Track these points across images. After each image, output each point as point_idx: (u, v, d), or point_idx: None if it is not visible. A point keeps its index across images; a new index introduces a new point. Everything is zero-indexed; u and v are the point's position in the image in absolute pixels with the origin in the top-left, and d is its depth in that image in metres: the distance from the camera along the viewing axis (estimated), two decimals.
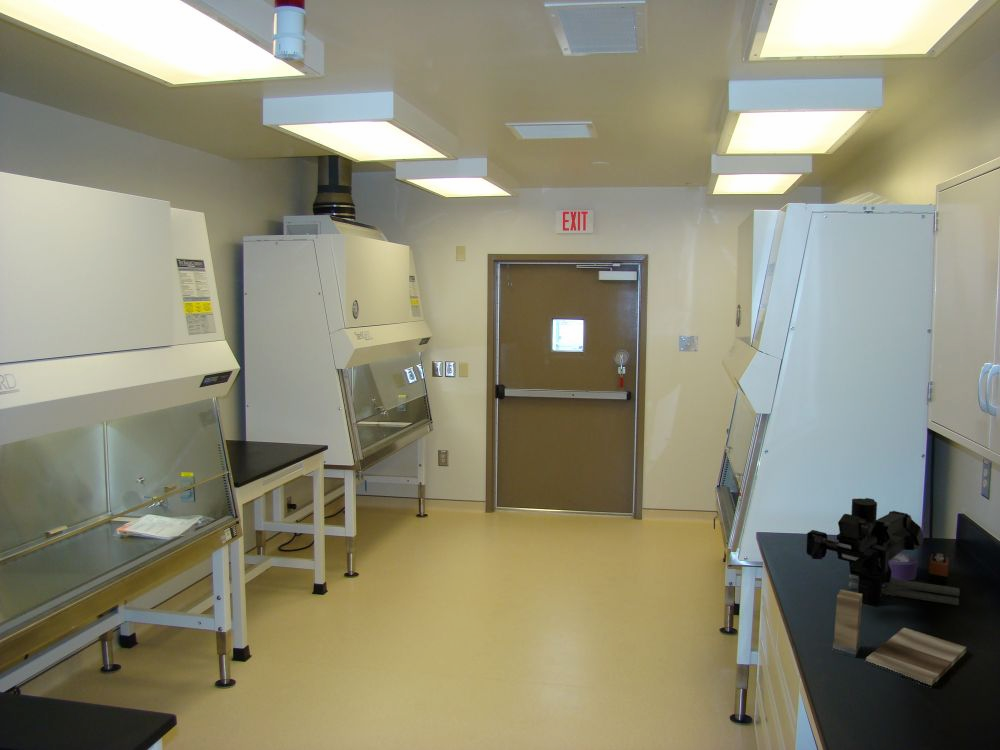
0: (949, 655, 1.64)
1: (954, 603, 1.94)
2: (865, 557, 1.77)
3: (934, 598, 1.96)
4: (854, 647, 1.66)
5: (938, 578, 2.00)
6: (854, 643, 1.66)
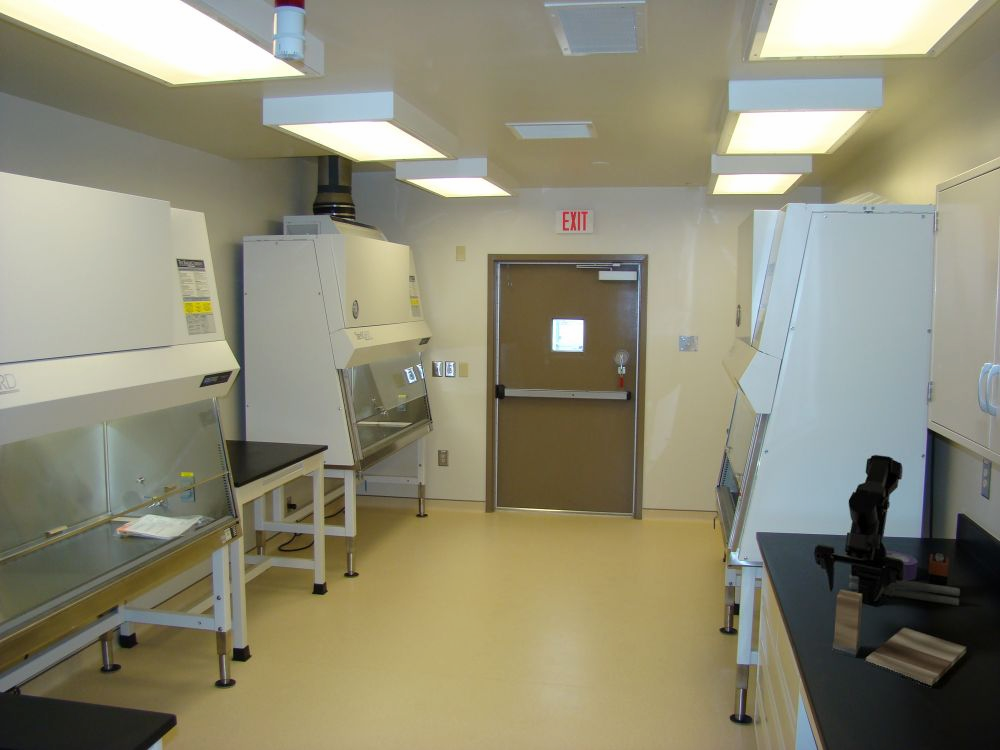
0: (949, 655, 1.64)
1: (954, 603, 1.94)
2: (883, 580, 1.70)
3: (935, 599, 1.96)
4: (854, 647, 1.66)
5: (938, 578, 2.00)
6: (854, 643, 1.66)
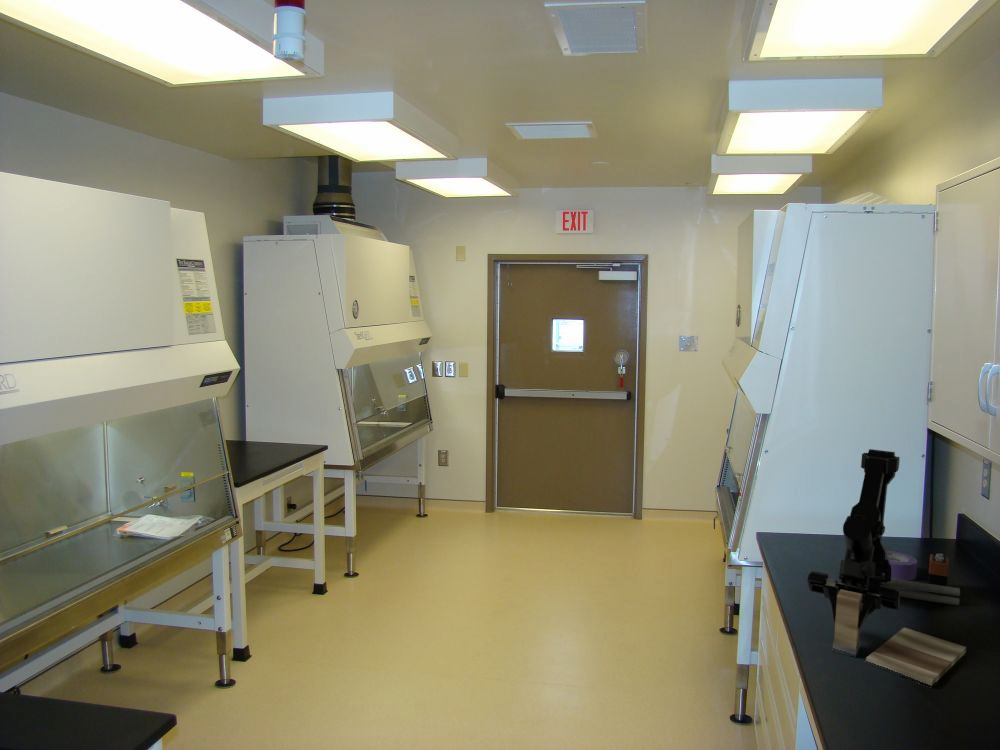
0: (949, 655, 1.64)
1: (954, 603, 1.94)
2: (867, 607, 1.67)
3: (935, 599, 1.96)
4: (854, 647, 1.66)
5: (938, 578, 2.00)
6: (854, 643, 1.66)
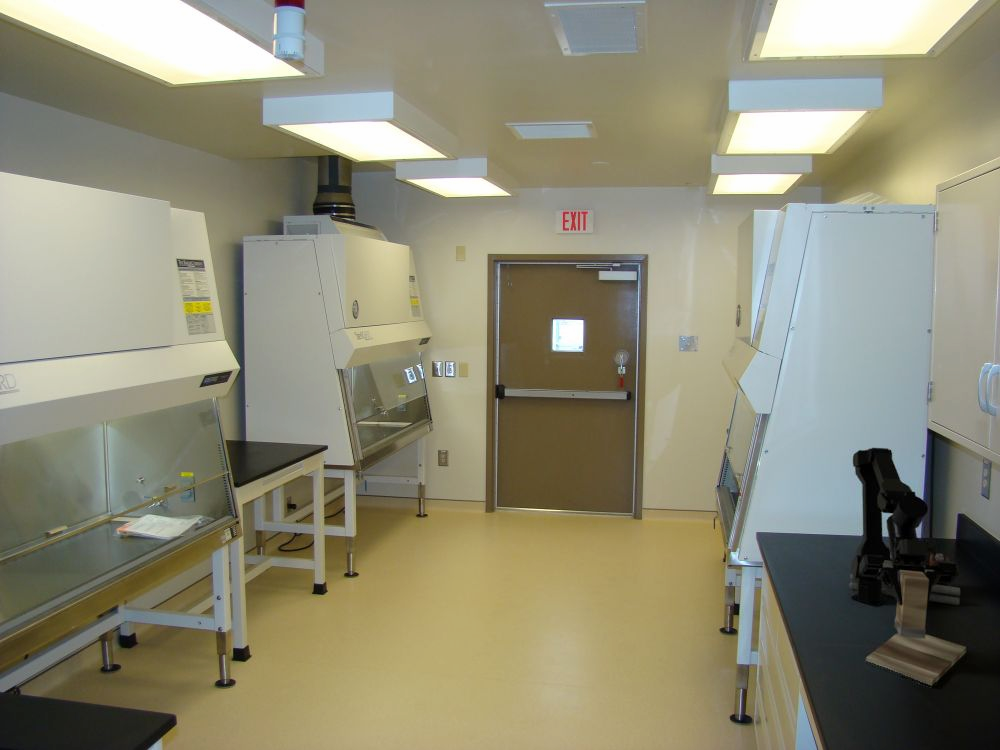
0: (949, 655, 1.64)
1: (955, 603, 1.94)
2: (931, 584, 1.62)
3: (935, 598, 1.96)
4: (923, 628, 1.60)
5: None
6: (923, 624, 1.60)
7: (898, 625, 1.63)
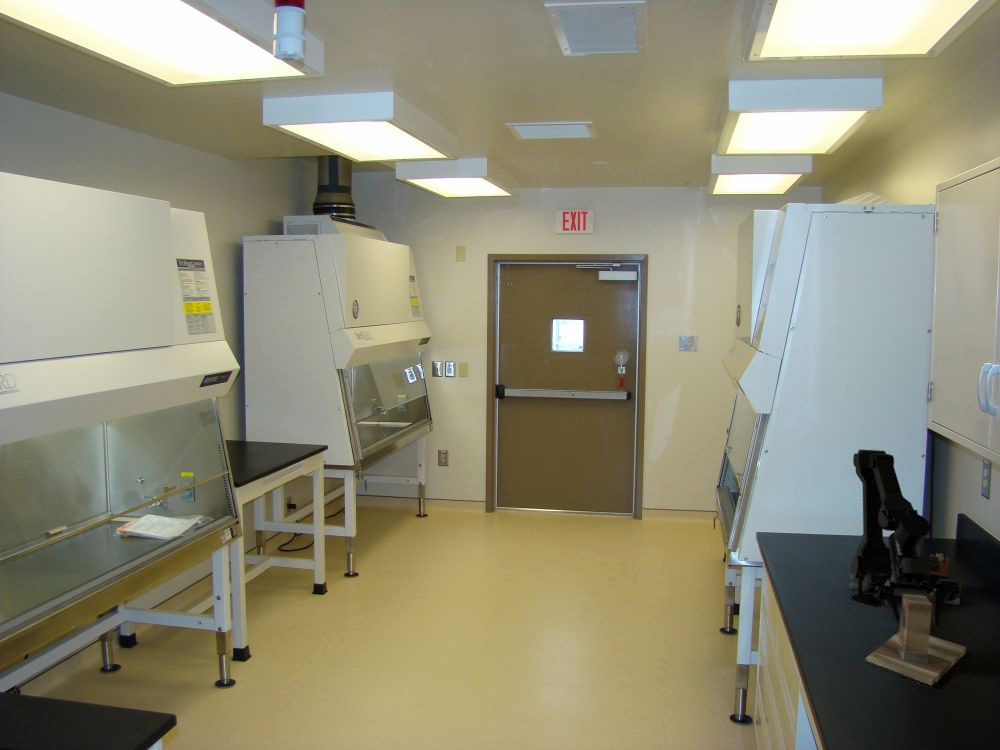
0: (949, 655, 1.64)
1: (955, 603, 1.94)
2: (940, 604, 1.62)
3: None
4: (926, 652, 1.61)
5: (938, 578, 2.00)
6: (926, 648, 1.61)
7: (901, 649, 1.63)
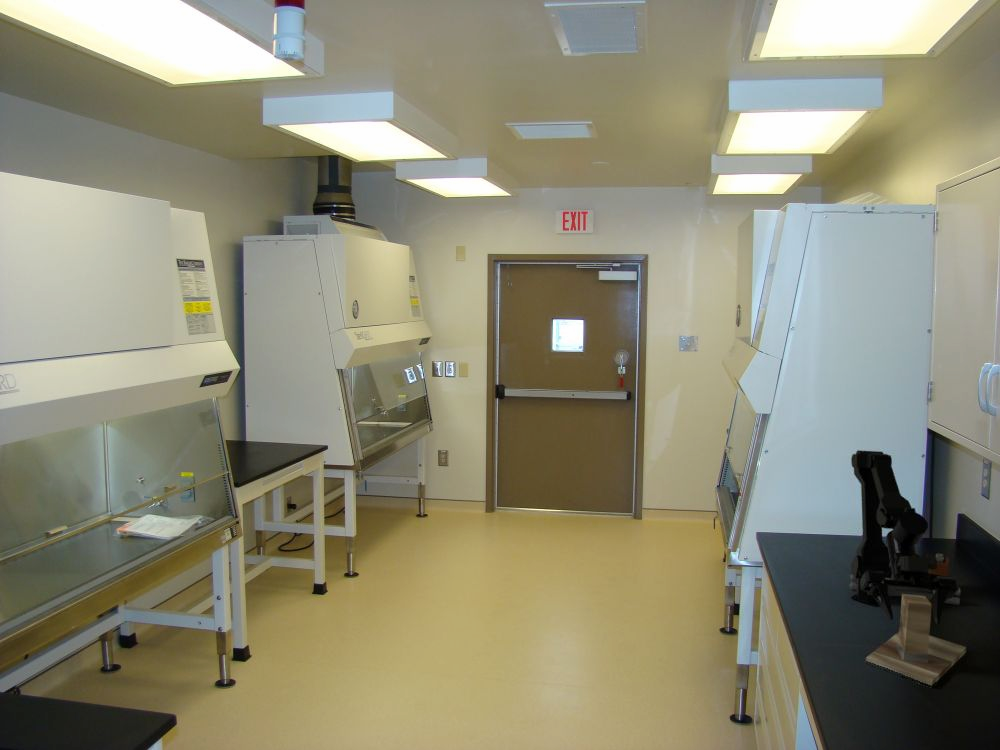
0: (949, 655, 1.64)
1: (955, 603, 1.94)
2: (942, 601, 1.63)
3: None
4: (926, 652, 1.61)
5: None
6: (926, 648, 1.61)
7: (901, 649, 1.63)
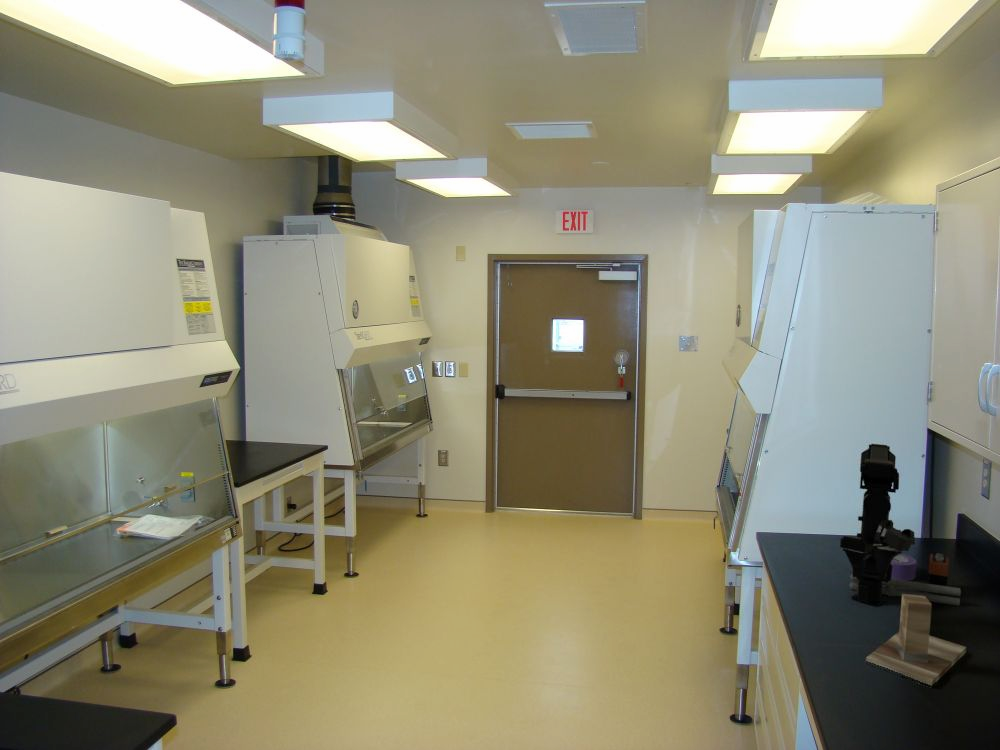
0: (949, 655, 1.64)
1: (955, 603, 1.94)
2: (891, 560, 1.83)
3: (935, 599, 1.96)
4: (926, 652, 1.61)
5: (938, 578, 2.00)
6: (926, 648, 1.61)
7: (901, 649, 1.63)
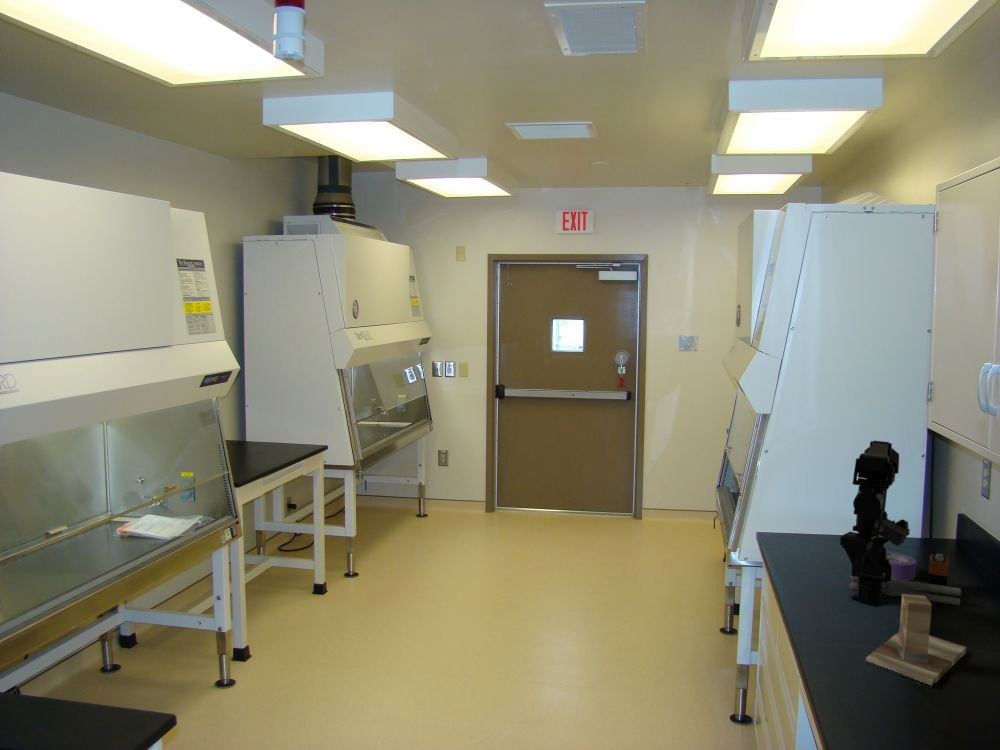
0: (949, 655, 1.64)
1: (955, 603, 1.94)
2: (882, 547, 1.86)
3: (936, 599, 1.96)
4: (926, 652, 1.61)
5: (938, 578, 2.00)
6: (926, 648, 1.61)
7: (901, 649, 1.63)
